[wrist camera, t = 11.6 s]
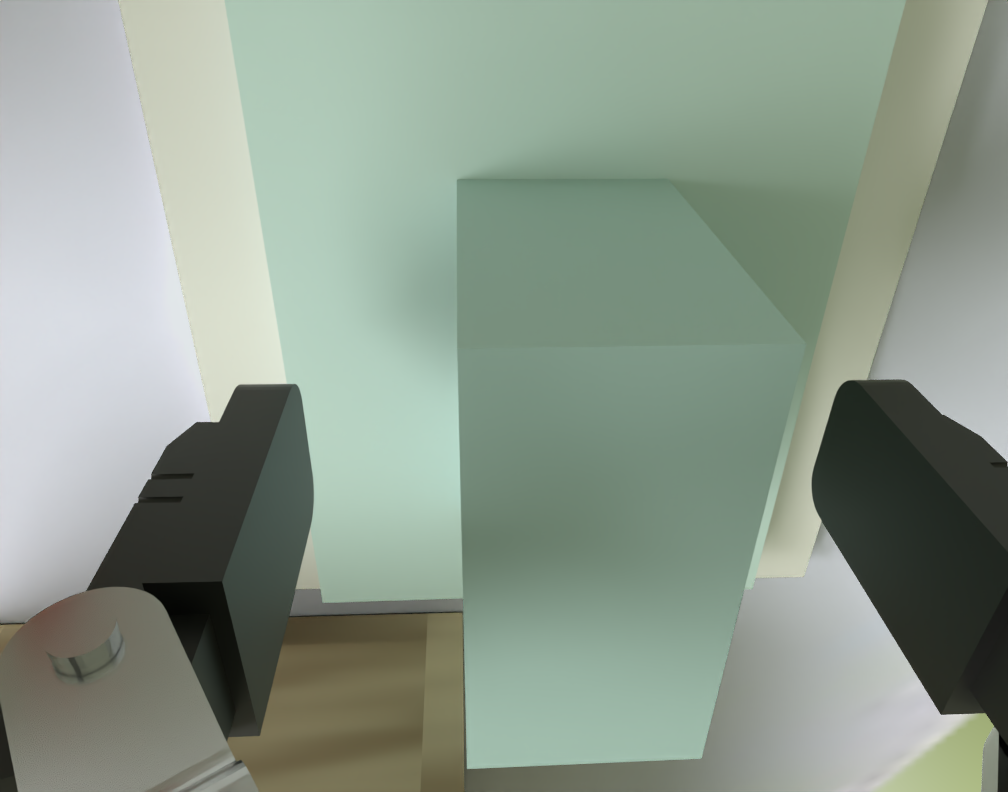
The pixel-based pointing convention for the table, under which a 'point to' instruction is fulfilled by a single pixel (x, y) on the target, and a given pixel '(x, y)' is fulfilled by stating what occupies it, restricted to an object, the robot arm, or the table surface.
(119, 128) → the table surface
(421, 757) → the crate
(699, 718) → the lid
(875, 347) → the mat
